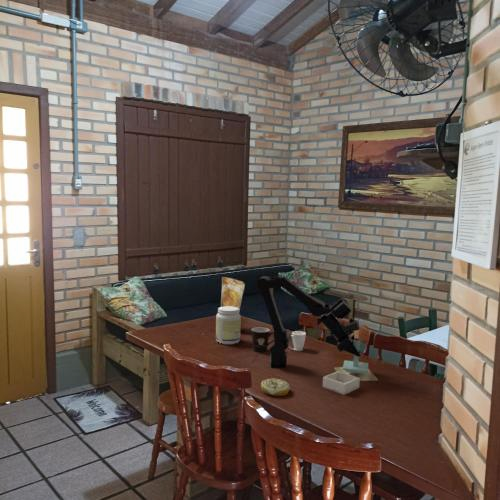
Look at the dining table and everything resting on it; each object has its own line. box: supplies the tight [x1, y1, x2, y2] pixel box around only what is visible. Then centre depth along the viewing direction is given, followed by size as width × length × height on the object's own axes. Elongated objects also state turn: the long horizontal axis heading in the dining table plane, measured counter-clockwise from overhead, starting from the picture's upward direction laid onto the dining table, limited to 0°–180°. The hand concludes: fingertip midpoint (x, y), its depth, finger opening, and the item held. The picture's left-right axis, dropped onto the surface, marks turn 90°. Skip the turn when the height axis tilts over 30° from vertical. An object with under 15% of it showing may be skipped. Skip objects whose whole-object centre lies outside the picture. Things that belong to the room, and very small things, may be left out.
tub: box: [322, 371, 361, 396], centre depth 185 cm, size 10×10×4 cm
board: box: [334, 366, 379, 382], centre depth 200 cm, size 14×14×1 cm
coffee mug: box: [251, 326, 275, 354], centre depth 227 cm, size 12×9×10 cm
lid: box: [342, 339, 369, 374], centre depth 199 cm, size 10×10×12 cm
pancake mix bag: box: [220, 276, 246, 312], centre depth 262 cm, size 7×19×28 cm, turn 35°
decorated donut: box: [260, 378, 291, 397], centre depth 180 cm, size 10×11×4 cm
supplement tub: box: [215, 306, 242, 345], centre depth 240 cm, size 12×12×17 cm
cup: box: [287, 330, 307, 352], centre depth 231 cm, size 7×10×8 cm
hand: (359, 354), depth 199 cm, fingers closed on lid, 3 cm apart
